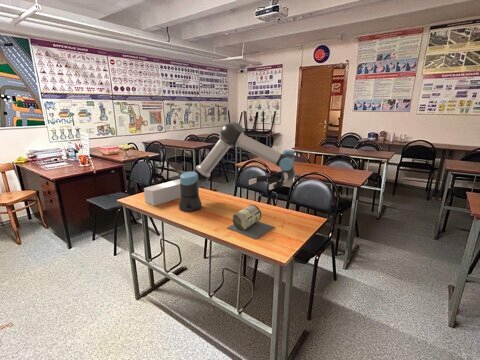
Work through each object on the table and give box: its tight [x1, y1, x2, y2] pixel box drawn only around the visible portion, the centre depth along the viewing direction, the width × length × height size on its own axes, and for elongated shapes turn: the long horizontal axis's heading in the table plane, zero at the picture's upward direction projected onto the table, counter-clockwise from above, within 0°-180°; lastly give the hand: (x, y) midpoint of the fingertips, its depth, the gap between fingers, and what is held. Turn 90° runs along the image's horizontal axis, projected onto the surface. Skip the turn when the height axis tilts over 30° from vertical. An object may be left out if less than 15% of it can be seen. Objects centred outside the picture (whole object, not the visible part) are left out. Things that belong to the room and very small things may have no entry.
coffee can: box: [232, 204, 262, 230], centre depth 148 cm, size 10×10×14 cm
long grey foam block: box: [143, 178, 181, 207], centre depth 194 cm, size 32×11×11 cm, turn 140°
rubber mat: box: [226, 220, 276, 240], centre depth 148 cm, size 20×18×1 cm
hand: (259, 184), depth 146 cm, fingers open, 13 cm apart
